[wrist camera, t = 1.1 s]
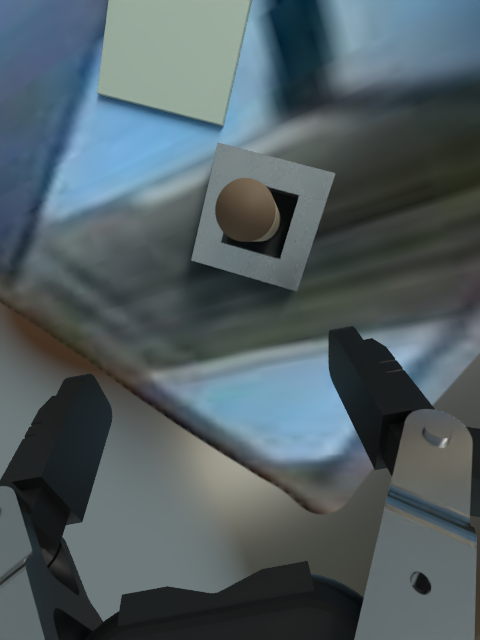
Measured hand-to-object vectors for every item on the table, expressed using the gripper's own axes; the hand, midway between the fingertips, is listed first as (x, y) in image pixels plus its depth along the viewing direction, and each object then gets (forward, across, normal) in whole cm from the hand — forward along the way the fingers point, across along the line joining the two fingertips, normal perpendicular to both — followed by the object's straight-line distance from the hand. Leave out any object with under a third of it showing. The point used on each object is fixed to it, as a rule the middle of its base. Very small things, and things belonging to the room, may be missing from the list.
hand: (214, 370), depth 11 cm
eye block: (+24, -5, +3) cm, 25 cm away
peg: (+24, -5, +3) cm, 25 cm away
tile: (+32, 0, -14) cm, 35 cm away
